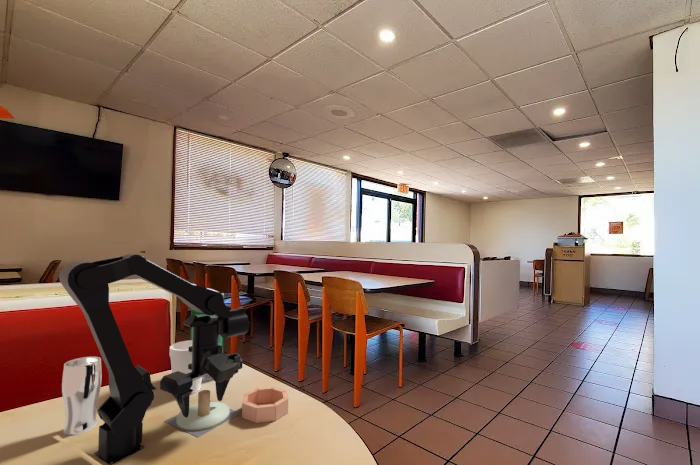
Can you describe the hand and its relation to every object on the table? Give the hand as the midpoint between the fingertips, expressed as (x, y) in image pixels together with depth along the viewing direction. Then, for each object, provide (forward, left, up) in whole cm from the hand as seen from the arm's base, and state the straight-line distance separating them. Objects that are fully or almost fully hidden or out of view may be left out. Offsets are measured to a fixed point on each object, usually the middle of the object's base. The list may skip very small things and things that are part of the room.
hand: (203, 408), depth 82 cm
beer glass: (-17, +19, -3) cm, 26 cm away
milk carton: (+17, +21, -3) cm, 27 cm away
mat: (0, 0, -3) cm, 3 cm away
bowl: (+10, -10, -3) cm, 14 cm away
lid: (0, 0, -2) cm, 2 cm away
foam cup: (+7, +16, -3) cm, 18 cm away
